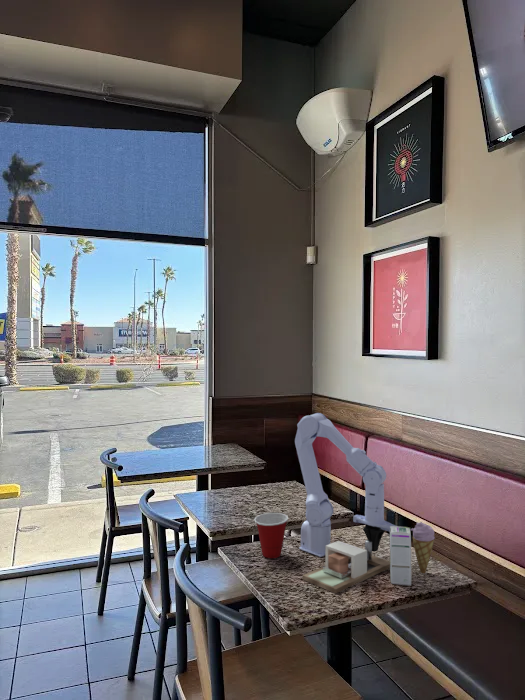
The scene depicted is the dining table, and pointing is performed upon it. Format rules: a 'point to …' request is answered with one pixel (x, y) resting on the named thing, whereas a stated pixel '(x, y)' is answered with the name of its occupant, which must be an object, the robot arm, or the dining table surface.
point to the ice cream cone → (423, 544)
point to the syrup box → (400, 555)
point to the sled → (341, 575)
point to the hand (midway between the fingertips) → (374, 550)
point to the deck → (339, 584)
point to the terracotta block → (338, 562)
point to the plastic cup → (271, 533)
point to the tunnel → (354, 552)
